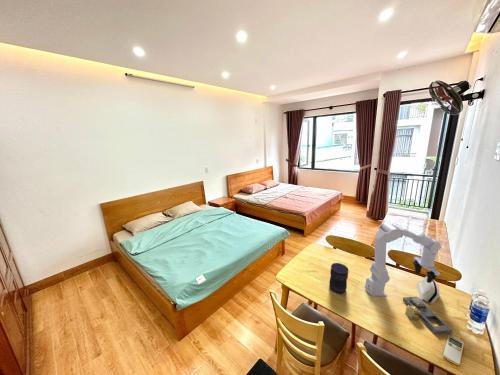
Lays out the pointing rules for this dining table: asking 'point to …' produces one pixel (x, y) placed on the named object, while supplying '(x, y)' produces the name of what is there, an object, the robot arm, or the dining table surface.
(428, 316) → the grey recessed tray
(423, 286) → the white black rounded piece
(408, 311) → the brass nut
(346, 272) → the storage jar
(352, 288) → the dining table surface
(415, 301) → the zinc nut
